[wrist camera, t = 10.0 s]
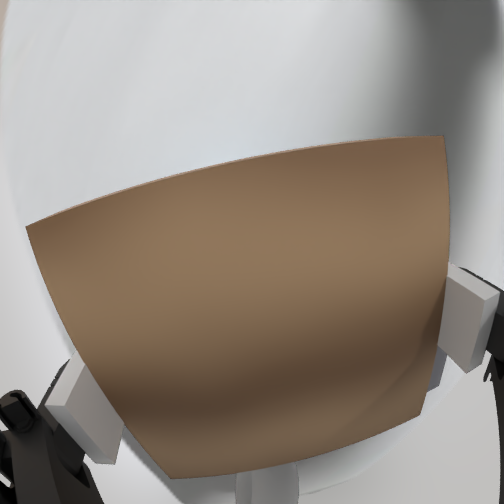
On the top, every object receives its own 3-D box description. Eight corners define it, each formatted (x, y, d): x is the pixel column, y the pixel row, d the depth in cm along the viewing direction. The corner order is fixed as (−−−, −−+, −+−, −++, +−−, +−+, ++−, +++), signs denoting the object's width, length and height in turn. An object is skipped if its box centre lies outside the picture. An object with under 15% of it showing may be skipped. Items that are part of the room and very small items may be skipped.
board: (66, 208, 8) (25, 226, 6) (397, 136, 8) (443, 135, 6) (173, 438, 11) (170, 479, 9) (396, 382, 12) (419, 414, 10)
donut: (248, 410, 21) (266, 519, 12) (289, 411, 22) (320, 513, 12) (228, 468, 24) (237, 549, 14) (261, 468, 24) (276, 547, 15)
